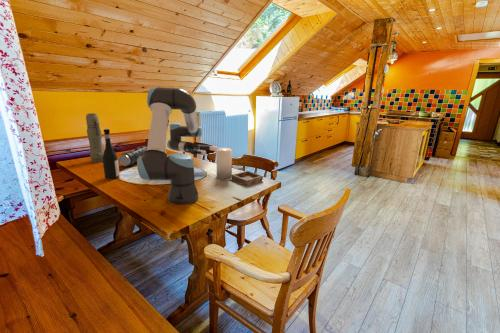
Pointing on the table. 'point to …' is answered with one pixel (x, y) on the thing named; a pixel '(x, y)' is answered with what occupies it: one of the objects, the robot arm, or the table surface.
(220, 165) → the ceramic canister
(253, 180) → the coaster tray
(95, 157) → the grey stone pillar
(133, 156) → the muzzle brake
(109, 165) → the wine bottle
